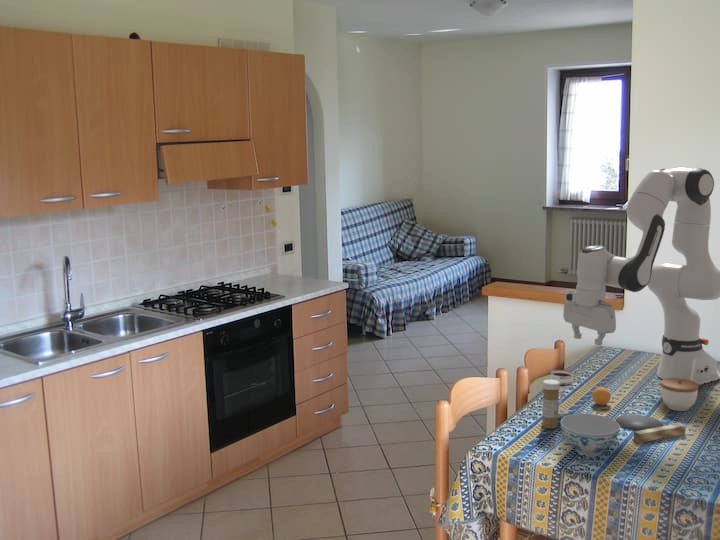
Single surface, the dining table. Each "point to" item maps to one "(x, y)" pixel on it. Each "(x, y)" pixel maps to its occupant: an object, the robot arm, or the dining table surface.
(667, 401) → the lidded jar
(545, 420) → the sprinkles bottle
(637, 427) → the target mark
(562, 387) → the wineglass
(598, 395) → the ball
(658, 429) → the stopper strip
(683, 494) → the dining table surface
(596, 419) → the chinaware
